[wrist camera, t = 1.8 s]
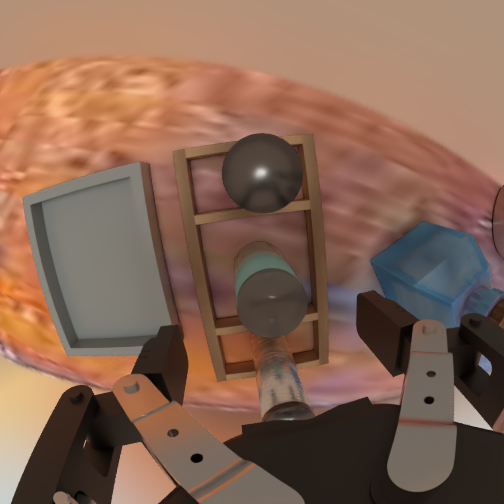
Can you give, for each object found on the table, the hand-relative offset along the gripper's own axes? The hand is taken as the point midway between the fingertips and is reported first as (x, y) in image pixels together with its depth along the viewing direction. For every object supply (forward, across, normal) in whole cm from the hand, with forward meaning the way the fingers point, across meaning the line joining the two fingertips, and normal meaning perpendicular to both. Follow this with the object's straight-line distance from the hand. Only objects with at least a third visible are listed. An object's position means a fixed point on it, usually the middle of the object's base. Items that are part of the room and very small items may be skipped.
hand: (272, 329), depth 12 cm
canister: (+9, 0, +6) cm, 11 cm away
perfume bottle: (+9, -14, +2) cm, 16 cm away
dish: (+9, +12, -2) cm, 15 cm away
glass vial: (+9, 0, -6) cm, 11 cm away
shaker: (+9, 0, 0) cm, 9 cm away
